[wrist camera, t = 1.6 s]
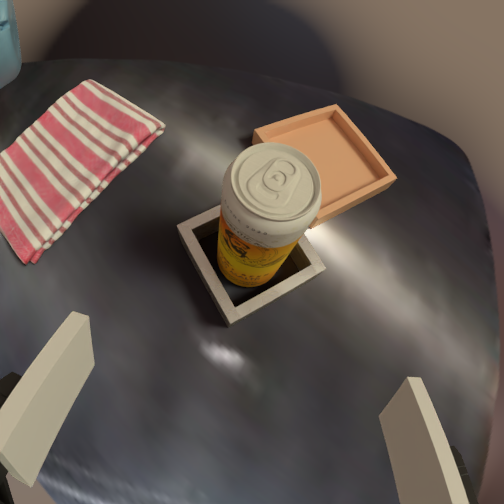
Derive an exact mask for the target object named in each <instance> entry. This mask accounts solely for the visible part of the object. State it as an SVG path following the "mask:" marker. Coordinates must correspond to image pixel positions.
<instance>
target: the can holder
mask: <svg viewBox="0 0 504 504" xmlns="http://www.w3.org/2000/svg"><path fill="white" fill-rule="evenodd" d="M220 209H221V205H219V206H216V207H214V208H212V209H210V210H208V211H206V212H204V213H201V214H199V215H197V216H195V217H193V218H191V219H189V220H187V221H185V222H182V223H180V224H178V225H177V229H178V234H179V238H180V241H181V243H182V245H183V246H184V248H185V250H186V252H187V254H188V256H189V258H190V260H191V262H192V263H193V265H194V267H195V269H196V271H197V273H198V275H199V276H200V278H201V280H202V282H203V284H204V286H205V287H206V289H207V291H208V293H209V295H210V296H211V298H212V300H213V302H214V304H215V305H216V307H217V309H218V311H219V312H220V314H221V316H222V318H223V319H224V321H225V323H226V325H227V326H228V328H229V327H231V326H233V325H235V324H236V323H238V322H240V321H242V320H244V319H245V318H247V317H249V316H251V315H252V314H254V313H256V312H258V311H260V310H261V309H263V308H265V307H267V306H268V305H270V304H272V303H274V302H275V301H277V300H279V299H281V298H282V297H284V296H286V295H287V294H289V293H291V292H293V291H294V290H296V289H298V288H299V287H301V286H303V285H304V284H306V283H308V282H309V281H311V280H313V279H314V278H316V277H317V276H318V275H319V274H320V273H322V272H323V271H324V270H325V269H326V267H325V266H324V264H323V263H322V261H321V259H320V258H319V256H318V255H317V253H316V252H315V250H314V248H313V247H312V245H311V244H310V242H309V241H308V239H307V238H306V236H305V234H303V235H302V237H301V238H300V239H299V241H298V242H297V244H296V245H295V246H294V248H293V249H292V251H291V252H290V253H289V255H290V257H291V258H292V260H293V261H294V263H295V265H296V266H297V268H298V270H299V271H300V272H298V273H296V274H294V275H293V276H291V277H289V278H287V279H286V280H284V281H282V282H280V283H279V284H277V285H275V286H273V287H272V288H270V289H268V290H266V291H264V292H263V293H261V294H259V295H257V296H255V297H254V298H252V299H250V300H248V301H246V302H245V303H243V304H241V305H239V306H237V307H234V305H233V303H232V302H231V300H230V298H229V296H228V295H227V293H226V291H225V289H224V288H223V286H222V284H221V282H220V281H219V279H218V277H217V275H216V273H215V272H214V270H213V268H212V266H211V264H210V263H209V261H208V259H207V257H206V255H205V254H204V252H203V250H202V248H201V246H200V245H199V243H198V241H199V240H201V239H203V238H205V237H207V236H209V235H211V234H213V233H215V232H217V231H219V221H220Z"/></svg>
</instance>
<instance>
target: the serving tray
mask: <svg viewBox="0 0 504 504" xmlns="http://www.w3.org/2000/svg"><path fill="white" fill-rule="evenodd" d="M266 142H274V143H281V144H285V145H288V146H291V147H293V148H295V149H297V150H299V151H300V152H302V153H303V154H304V155H306V156H307V157H308V158H309V159H310V160H311V161H312V163H313V164H314V166H315V167H316V169H317V171H318V173H319V176H320V180H321V193H322V200H321V206H320V209H319V211H318V213H317V215H316V217H315V218H314V220H313V221H312V222H311V224H310V225H309V227H310V228H311V229H312V228H314V227H316V226H318V225H320V224H321V223H323V222H325V221H327V220H329V219H331V218H333V217H335V216H337V215H338V214H340V213H342V212H344V211H346V210H348V209H350V208H352V207H353V206H355V205H357V204H359V203H361V202H363V201H365V200H367V199H369V198H370V197H372V196H374V195H376V194H378V193H380V192H382V191H383V190H385V189H387V188H388V187H389V186H390V185H391V184H392V183H393V182H394V181H395V180H396V179H397V178H396V176H395V175H394V173H393V172H392V171H391V169H390V168H389V167H388V166H387V164H386V163H385V162H384V160H383V159H382V158H381V156H380V155H379V154H378V153H377V151H376V150H375V149H374V148H373V146H372V145H371V144H370V143H369V141H368V140H367V139H366V138H365V137H364V135H363V134H362V133H361V132H360V131H359V129H358V128H357V127H356V126H355V125H354V123H353V122H352V121H351V120H350V119H349V118H348V117H347V115H346V114H345V113H344V112H343V111H342V110H341V109H340V108H339V106H338V105H337V104H335V105H332V106H328V107H325V108H321V109H318V110H314V111H311V112H307V113H304V114H301V115H298V116H294V117H291V118H288V119H285V120H282V121H279V122H276V123H273V124H270V125H267V126H264V127H261V128H258V129H255V130H254V134H253V139H252V144H253V145H256V144H260V143H266Z"/></svg>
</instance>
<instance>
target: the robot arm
mask: <svg viewBox="0 0 504 504" xmlns="http://www.w3.org/2000/svg"><path fill="white" fill-rule="evenodd" d="M20 68H21V51H20V43H19V36H18V29H17V22H16V16H15V11H14V5H13V0H0V89H1V88H2V87H4V86H5V85H7V84H8V83H10V82H11V81H13V80H14V79H15V78H16V77H17V75H18V73H19V71H20ZM94 365H95V363H94V356H93V349H92V341H91V333H90V323H89V316H86V315H83V314H80V313H77V312H74V311H72V312H71V314H70V315H69V316H68V317H67V318H66V320H65V321H64V322H63V323H62V325H61V326H60V327H59V328H58V330H57V331H56V332H55V334H54V335H53V336H52V337H51V339H50V340H49V341H48V343H47V344H46V345H45V347H44V348H43V349H42V351H41V352H40V353H39V355H38V356H37V357H36V359H35V360H34V361H33V363H32V364H31V365H30V367H29V368H28V370H27V371H26V372H25V374H24V375H23V377H22V376H20V375H18V374H16V373H14V372H11V373H10V374H8V375H7V376H5V377H3V378H2V379H1V380H0V504H14V502H13V498H12V495H11V492H10V488H9V485H8V482H7V479H6V474H7V473H8V472H9V473H10V474H11V475H12V476H13V477H14V478H15V479H17V480H19V481H20V482H22V483H24V484H26V485H27V486H29V487H31V488H32V486H33V484H34V482H35V480H36V477H37V475H38V473H39V471H40V469H41V467H42V465H43V462H44V460H45V458H46V456H47V454H48V452H49V450H50V448H51V446H52V444H53V442H54V440H55V438H56V436H57V434H58V432H59V430H60V428H61V426H62V424H63V422H64V420H65V418H66V416H67V414H68V412H69V410H70V409H71V407H72V405H73V403H74V401H75V399H76V397H77V396H78V394H79V392H80V390H81V388H82V386H83V385H84V383H85V381H86V379H87V377H88V376H89V374H90V372H91V370H92V369H93V367H94ZM379 419H380V423H381V426H382V430H383V434H384V437H385V441H386V445H387V449H388V453H389V457H390V461H391V465H392V469H393V473H394V478H395V482H396V486H397V491H398V495H399V500H400V504H478V502H477V499H476V496H475V493H474V490H473V487H472V484H471V481H470V478H469V475H467V473H468V472H467V470H466V467H464V465H465V464H464V461H463V459H462V456H461V454H460V453H459V452H458V450H457V449H456V448H455V447H454V446H449V444H448V441H447V439H446V436H445V434H444V431H443V429H442V426H441V424H440V421H439V419H438V416H437V414H436V412H435V409H434V407H433V404H432V402H431V400H430V398H429V395H428V393H427V391H426V388H425V386H424V384H423V382H422V379H421V378H417V377H407V378H406V379H405V381H404V382H403V384H402V385H401V387H400V388H399V389H398V391H397V392H396V394H395V395H394V396H393V398H392V399H391V400H390V402H389V403H388V404H387V406H386V407H385V408H384V410H383V411H382V412H381V414H380V415H379Z"/></svg>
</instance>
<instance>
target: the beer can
mask: <svg viewBox="0 0 504 504" xmlns="http://www.w3.org/2000/svg"><path fill="white" fill-rule="evenodd" d="M321 200H322V193H321V180H320V176H319V173H318V171H317V169H316V167H315V166H314V164H313V163H312V161H311V160H310V159H309V158H308V157H307V156H306V155H304V154H303V153H302V152H300V151H299V150H297V149H295V148H293V147H291V146H288V145H285V144H281V143H274V142H266V143H260V144H256V145H253V146H251V147H249V148H247V149H245V150H244V151H243V152H242V153H240V154H239V156H238V157H237V158H236V159H235V160H234V161H233V162H232V163H231V164H230V165H229V167H228V168H227V170H226V172H225V175H224V178H223V185H222V197H221V209H220V221H219V234H218V248H217V262H218V265H219V268H220V270H221V272H222V273H223V275H224V276H225V277H226V278H227V279H228V280H229V281H231V282H232V283H234V284H236V285H239V286H243V287H256V286H260V285H262V284H264V283H266V282H267V281H269V280H270V279H271V278H272V277H273V276H274V274H275V273H276V272H277V270H278V269H279V267H280V266H281V265H282V263H283V262H284V260H285V259H286V258H287V256H288V255H289V253H290V252H291V251H292V249H293V248H294V246H295V245H296V244H297V242H298V241H299V239H300V238H301V237H302V235H303V234H304V232H305V231H306V230H307V228H308V227H309V225H310V224H311V222H312V221H313V220H314V218H315V217H316V215H317V213H318V211H319V209H320V206H321Z"/></svg>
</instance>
